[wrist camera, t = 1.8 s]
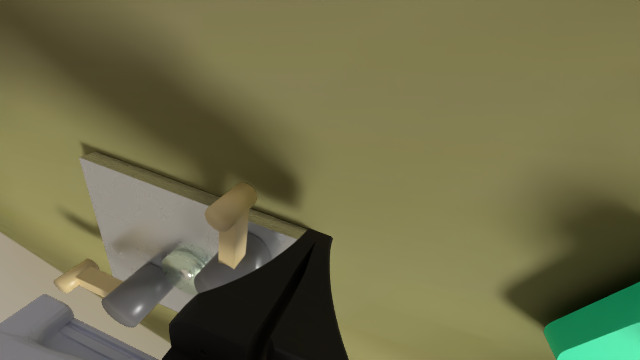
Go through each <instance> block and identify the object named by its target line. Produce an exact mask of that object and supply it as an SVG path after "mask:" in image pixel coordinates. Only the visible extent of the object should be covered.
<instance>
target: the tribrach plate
mask: <svg viewBox="0 0 640 360" xmlns="http://www.w3.org/2000/svg"><path fill="white" fill-rule="evenodd" d="M79 159H80V163H81V166H82V170H83V173H84V177H85V180H86V183H87V187H88V190H89V194H90V197H91V201H92V204H93V208H94V211H95V215H96V218H97V222H98V225H99V229H100V232H101V236H102V239H103V243H104V246H105V250H106V253H107V257H108V260H109V264H110V267H111V271H112V274H113V277H115V278H117V279H119V280H122V281H125V280H126V279H127V278H129V277H130V276H131V275H132V274H133V273H135V272H136V271H137V270H138V269H139V268H141V267H142V266H143V265H145V264H152V265H155V266H157V267H158V268H160V269H161V270H163V273H164V275H165V276H166V278H167V279H168V280H169V281H170V282H171V283H172V285H173V287H172V289H171V291H170V292H169V293H168V294H167V295H166V296H165V297H164V298H163V299H162V300H161V301H160V302H159V304H161V305H163V306H165V307H168V308H170V309H172V310H174V311H176V312H180V310H181V309H182V308H183V307H184V306H185V305H186V304H187V303H188V302H189V301H190V300H191V299H192V298H193V297H195V296H196V295H197V294H198V292H197V291H196V288H195V285H194V278H195V276H196V275H197V274H198V273H199V272H200V271H201V269H202V268H203V267H204V266H205V265H206V264H207V263H208V262H209V261H210V260H211V259H212V258H213V256H214V255H215V254H216V253H217V252H218V251H219V231H217V230H215V229H214V228H212V227H211V226H210V225H209V224H208V222H207V220H206V218H205V211H206V209H207V208H208V207H209V206H211V205H212V204H213V203H214V202H215V201H217V200H218V199H219V198H220V197H218V196H215V195H212V194H210V193H207V192H204V191H202V190H199V189H196V188H193V187H191V186H188V185H185V184H183V183H180V182H177V181H174V180H172V179H169V178H166V177H163V176H161V175H158V174H155V173H153V172H150V171H147V170H144V169H142V168H139V167H136V166H134V165H131V164H128V163H125V162H123V161H120V160H117V159H115V158H112V157H109V156H106V155H104V154H101V153H98V152H93V153H90V154H87V155H84V156H81V157H79ZM306 231H307V229H305V228H302V227H299V226H297V225H294V224H291V223H289V222H286V221H283V220H280V219H278V218H275V217H272V216H270V215H267V214H264V213H261V212H259V211H256V210H253V209H249V218H248V230H247V233H249V234H252V235H254V236H256V237H258V238H259V239H260V240H262V241H263V242H264V243H265V244H266V246H267V247H268V249H269V251H270V253H271V260H272V259H274V258H275V257H276V256H278V255H279V254H280V253H282V252H283V251H285V250H286V249H287V248H288V247H289V246H291V245H292V244H293V243H294V242H295V241H296V240H298V239H299V238H300V237H301V236H302V235H303V234H304V233H305V232H306Z"/></svg>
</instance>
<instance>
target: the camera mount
mask: <svg viewBox="0 0 640 360" xmlns="http://www.w3.org/2000/svg"><path fill="white" fill-rule="evenodd" d="M544 335H545V337H546V339H547V341H548V343H549V345H550V347H551V350H552V352H553V354H554V356H555V358H556V360H640V282H638V283H636V284H634V285H632V286H630V287H627V288H625V289H623V290H621V291H619V292H616V293H614V294H612V295H610V296H608V297H605V298H603V299H601V300H599V301H597V302H594V303H592V304H590V305H588V306H586V307H583V308H581V309H579V310H577V311H575V312H572V313H570V314H568V315H566V316H564V317H561V318H559V319H557V320H555V321H553V322H551V323H549V324H548V325H547V326H546V327H545V329H544Z"/></svg>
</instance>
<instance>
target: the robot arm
mask: <svg viewBox="0 0 640 360" xmlns="http://www.w3.org/2000/svg"><path fill="white" fill-rule="evenodd" d="M332 240H333V238H332V237H331V236H329V235H326V234H323V233H321V232H318V231H315V230H312V229H307V231H306V232H305V233H304V234H303V235H302V236H301V237H300V238H299V239H298V240H296V241H295V242H294V243H293V244H292V245H291V246H289V247H288V248H287V249H286V250H285V251H283V252H282V253H280V254H279V255H278V256H276V257H275V258H274V259H272V260H271V261H269V262H268V263H266V264H264V265H263V266H261V267H259V268H258V269H256V270H254V271H252V272H250V273H248V274H247V275H245V276H242V277H240V278H238V279H236V280H234V281H231V282H229V283H227V284H224V285H222V286H219V287H216V288H213V289H210V290H207V291H205V292H202V293H198V294H197V295H196V296H195V297H193V298H192V299H191V300H190V301H189V302H188V303H187V304H186V305H185V306H184V307H183V308H182V309H181V310H180V312H179V313H178V314H177V315H176V316H175V317H174V319H173V320H172V321H171V323H170V324H169V334H170V340H171V348H170V350H169V351H168V352H167V353H166V355H165V356H164V357H163V358H162V360H349V359H348V356H347V353H346V350H345V347H344V344H343V341H342V338H341V335H340V331H339V328H338V323H337V319H336V315H335V311H334V305H333V300H332V293H331V284H330V249H331V243H332ZM0 360H158V359H156V358H154V357H152V356H150V355H148V354H146V353H144V352H142V351H140V350H138V349H136V348H134V347H132V346H130V345H128V344H126V343H124V342H122V341H120V340H118V339H116V338H114V337H112V336H110V335H108V334H106V333H104V332H102V331H100V330H98V329H96V328H94V327H91V326H90V325H88V324H86V323H84V322H82V321H80V320H78V319H76V318H74V314H73V312H72V310H71V309H70V307H69V306H68V305H66V304H65V303H63V302H61V301H59V300H57V299H55V298H53V297H51V296H49V295H47V294H43V295H41V296H40V297H38V298H37V299H35V300H34V301H33V302H31V303H29V304H28V305H27V306H25V307H24V308H22V309H21V310H20V311H18V312H16V313H15V314H13V315H12V316H10V317H9V318H7V319H6V320H4V321H3V322H1V323H0Z"/></svg>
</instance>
